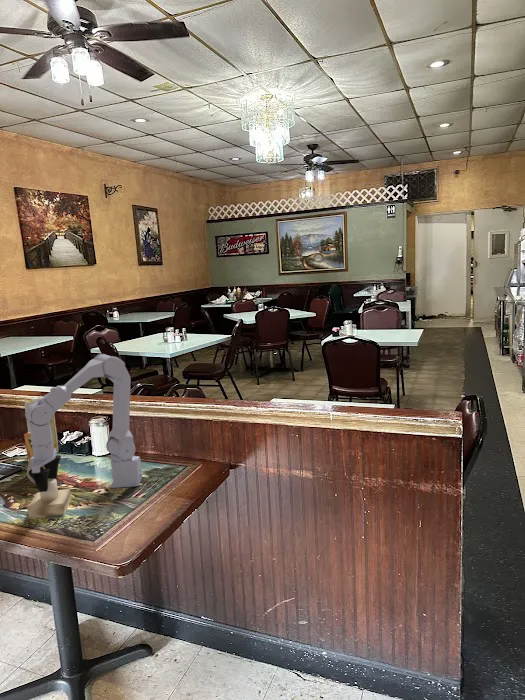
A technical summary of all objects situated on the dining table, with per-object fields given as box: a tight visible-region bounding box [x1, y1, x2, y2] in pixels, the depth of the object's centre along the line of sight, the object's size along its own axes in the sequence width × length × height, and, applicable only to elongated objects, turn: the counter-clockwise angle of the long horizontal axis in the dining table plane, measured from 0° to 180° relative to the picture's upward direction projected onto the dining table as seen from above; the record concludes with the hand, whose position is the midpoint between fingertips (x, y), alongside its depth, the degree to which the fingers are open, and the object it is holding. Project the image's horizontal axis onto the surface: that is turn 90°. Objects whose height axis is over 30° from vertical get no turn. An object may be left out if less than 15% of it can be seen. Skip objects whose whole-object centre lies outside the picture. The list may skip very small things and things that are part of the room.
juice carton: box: [24, 396, 59, 454], centre depth 193 cm, size 9×8×24 cm
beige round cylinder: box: [40, 479, 59, 501], centre depth 149 cm, size 5×5×5 cm
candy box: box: [23, 431, 45, 469], centre depth 175 cm, size 9×4×15 cm, turn 67°
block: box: [27, 488, 72, 520], centre depth 150 cm, size 10×10×4 cm
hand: (48, 485), depth 149 cm, fingers open, 7 cm apart
